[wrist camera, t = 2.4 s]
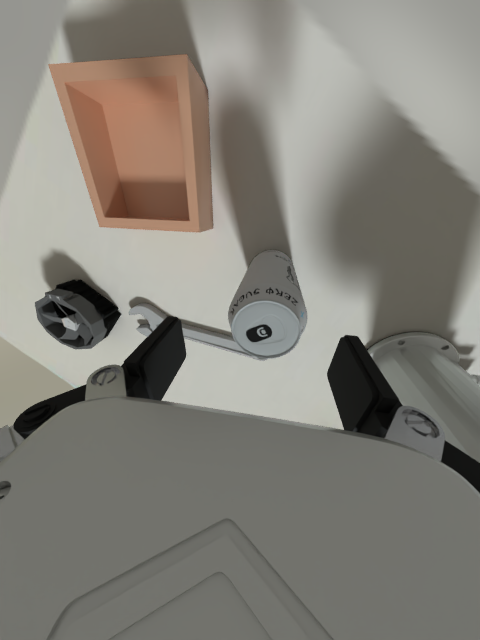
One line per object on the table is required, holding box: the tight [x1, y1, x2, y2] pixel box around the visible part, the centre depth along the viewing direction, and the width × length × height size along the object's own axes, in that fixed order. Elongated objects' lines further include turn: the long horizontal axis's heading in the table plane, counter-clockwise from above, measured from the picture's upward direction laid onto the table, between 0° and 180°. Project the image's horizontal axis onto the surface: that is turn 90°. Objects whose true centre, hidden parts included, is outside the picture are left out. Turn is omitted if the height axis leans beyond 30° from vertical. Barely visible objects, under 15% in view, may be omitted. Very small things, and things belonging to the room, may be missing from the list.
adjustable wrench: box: [129, 303, 267, 361], centre depth 33 cm, size 25×6×2 cm, turn 73°
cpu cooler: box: [35, 280, 121, 349], centre depth 33 cm, size 10×6×10 cm
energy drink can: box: [228, 250, 307, 359], centre depth 19 cm, size 6×6×15 cm
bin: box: [48, 54, 213, 232], centre depth 20 cm, size 12×12×5 cm
